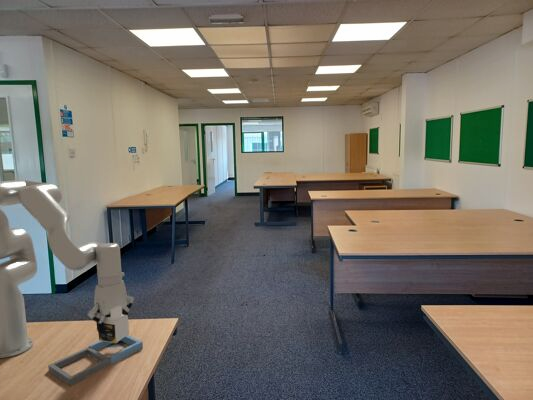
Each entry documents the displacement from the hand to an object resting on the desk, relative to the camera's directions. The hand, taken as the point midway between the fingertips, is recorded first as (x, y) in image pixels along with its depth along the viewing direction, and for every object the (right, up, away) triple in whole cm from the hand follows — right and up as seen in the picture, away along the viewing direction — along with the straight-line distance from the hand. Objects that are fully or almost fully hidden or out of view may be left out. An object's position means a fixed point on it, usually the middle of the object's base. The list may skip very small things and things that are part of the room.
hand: (113, 327), depth 127 cm
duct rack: (-4, -9, -4) cm, 11 cm away
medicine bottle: (0, -4, 0) cm, 4 cm away
